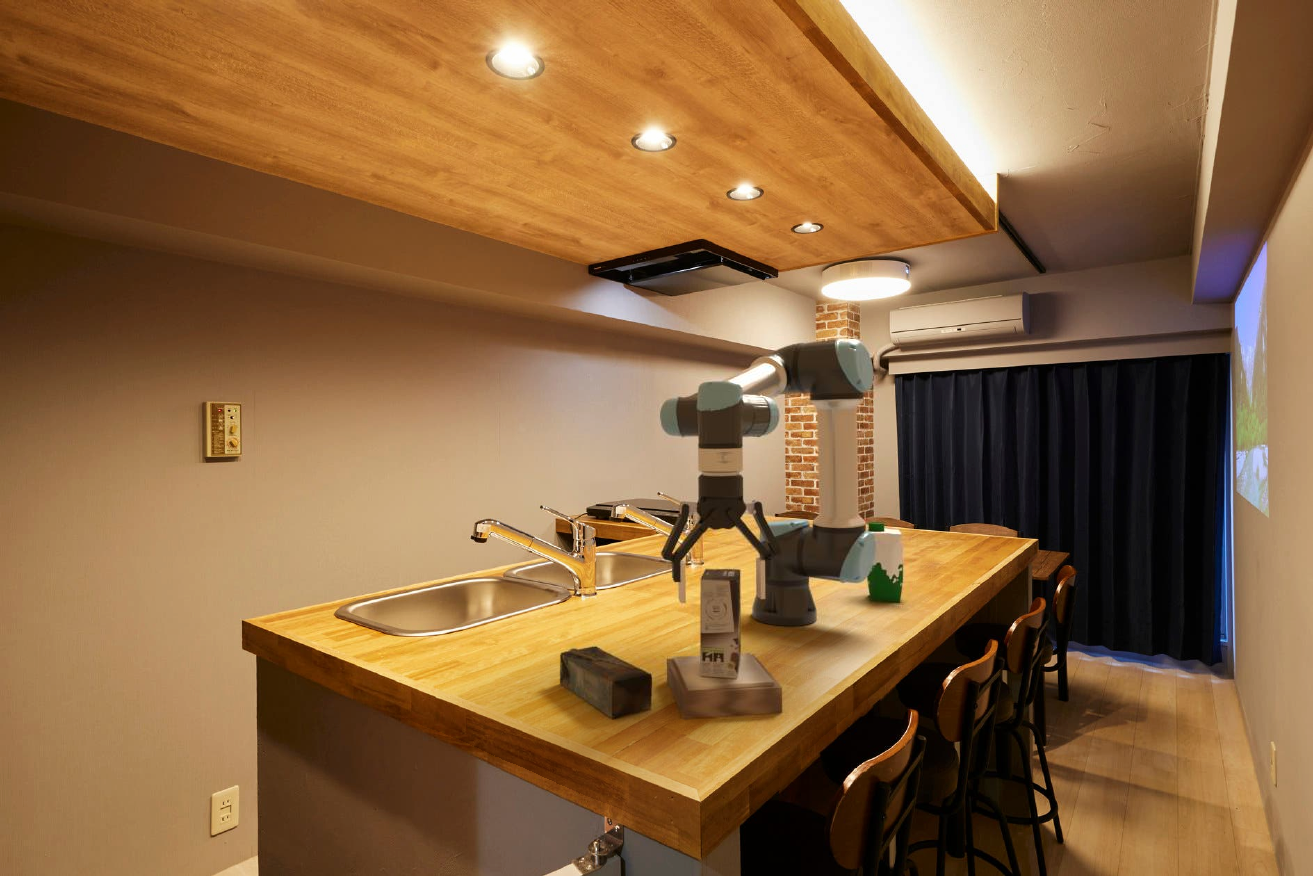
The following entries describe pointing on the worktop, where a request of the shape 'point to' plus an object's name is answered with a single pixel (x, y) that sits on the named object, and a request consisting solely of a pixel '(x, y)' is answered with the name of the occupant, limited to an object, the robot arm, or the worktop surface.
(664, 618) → the worktop surface
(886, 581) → the milk carton
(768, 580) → the robot arm
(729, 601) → the coffee box
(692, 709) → the shelf riser
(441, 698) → the worktop surface
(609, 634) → the worktop surface
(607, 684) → the beverage carton
